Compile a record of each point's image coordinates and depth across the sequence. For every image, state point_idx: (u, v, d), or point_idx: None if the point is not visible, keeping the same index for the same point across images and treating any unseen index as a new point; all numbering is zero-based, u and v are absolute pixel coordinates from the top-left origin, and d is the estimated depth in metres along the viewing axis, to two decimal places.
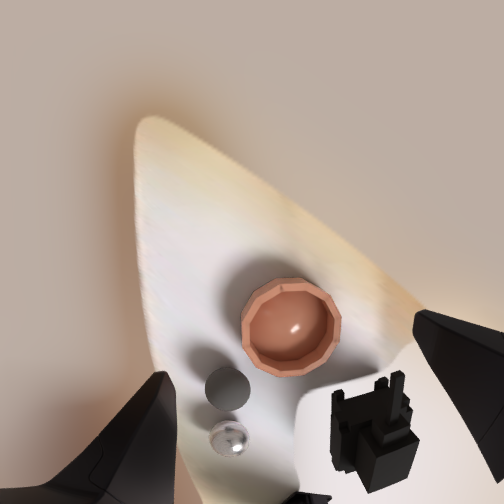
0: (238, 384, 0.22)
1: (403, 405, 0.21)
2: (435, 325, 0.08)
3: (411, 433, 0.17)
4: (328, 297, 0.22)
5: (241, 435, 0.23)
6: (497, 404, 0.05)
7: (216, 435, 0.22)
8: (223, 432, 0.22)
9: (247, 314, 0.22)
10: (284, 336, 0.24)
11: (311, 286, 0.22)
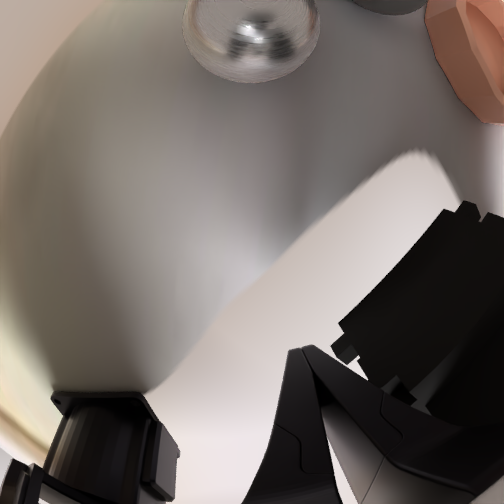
0: None
1: None
2: (310, 367, 0.07)
3: None
4: None
5: (318, 20, 0.06)
6: (370, 476, 0.05)
7: None
8: None
9: None
10: None
11: None
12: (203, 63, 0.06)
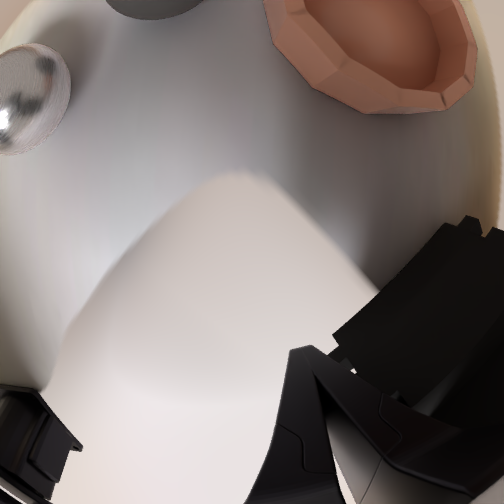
0: None
1: None
2: None
3: None
4: (474, 46, 0.06)
5: (41, 82, 0.05)
6: (368, 477, 0.05)
7: (16, 46, 0.04)
8: (31, 46, 0.05)
9: None
10: (349, 19, 0.07)
11: (463, 11, 0.05)
12: None
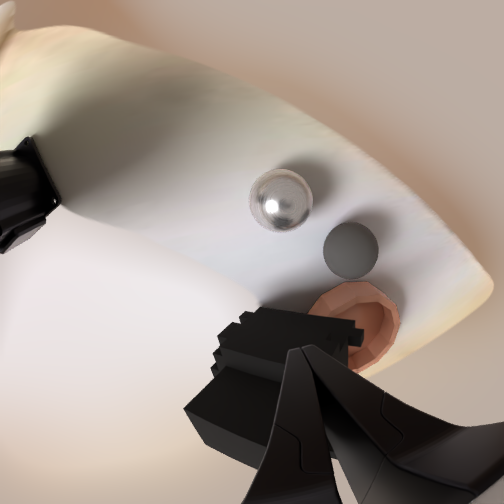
0: (361, 276, 0.19)
1: None
2: (310, 367, 0.07)
3: None
4: (357, 371, 0.23)
5: (290, 230, 0.17)
6: (370, 476, 0.05)
7: (311, 199, 0.17)
8: (310, 211, 0.17)
9: (397, 312, 0.21)
10: None
11: (374, 363, 0.23)
12: (252, 188, 0.17)
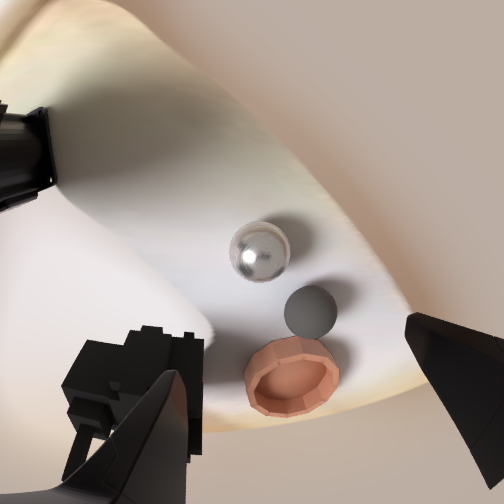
0: None
1: None
2: (427, 329, 0.08)
3: None
4: (286, 416, 0.24)
5: (260, 282, 0.18)
6: (489, 410, 0.05)
7: (288, 260, 0.18)
8: (283, 270, 0.18)
9: (337, 375, 0.23)
10: (287, 368, 0.24)
11: (304, 413, 0.24)
12: (237, 233, 0.18)
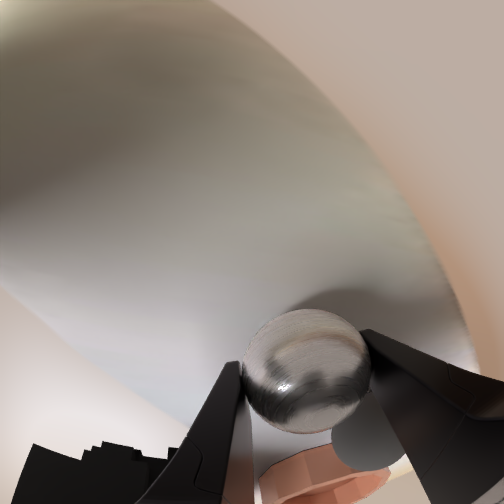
0: None
1: None
2: (373, 349, 0.07)
3: None
4: None
5: None
6: (437, 444, 0.05)
7: None
8: None
9: (387, 477, 0.12)
10: None
11: None
12: (260, 346, 0.07)
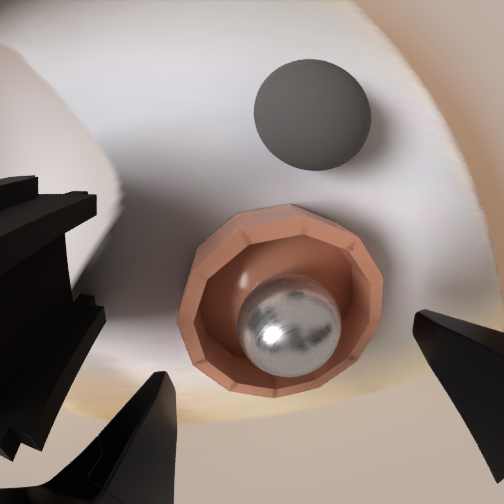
0: (325, 159, 0.08)
1: None
2: (435, 325, 0.08)
3: None
4: (274, 395, 0.12)
5: None
6: (497, 404, 0.05)
7: (338, 340, 0.10)
8: None
9: (380, 294, 0.11)
10: None
11: (311, 388, 0.12)
12: (251, 299, 0.10)
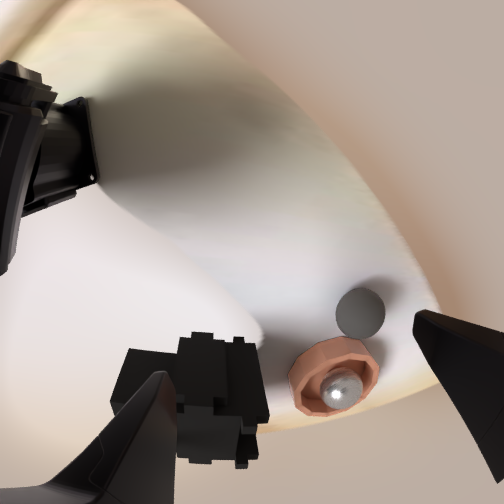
0: (363, 338, 0.20)
1: (181, 456, 0.16)
2: (435, 325, 0.08)
3: None
4: (327, 415, 0.24)
5: None
6: (497, 404, 0.05)
7: None
8: None
9: (377, 373, 0.23)
10: (329, 368, 0.24)
11: (343, 411, 0.24)
12: (330, 383, 0.22)
